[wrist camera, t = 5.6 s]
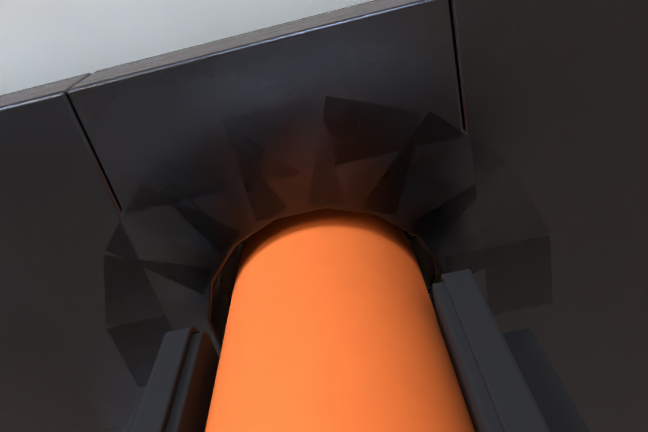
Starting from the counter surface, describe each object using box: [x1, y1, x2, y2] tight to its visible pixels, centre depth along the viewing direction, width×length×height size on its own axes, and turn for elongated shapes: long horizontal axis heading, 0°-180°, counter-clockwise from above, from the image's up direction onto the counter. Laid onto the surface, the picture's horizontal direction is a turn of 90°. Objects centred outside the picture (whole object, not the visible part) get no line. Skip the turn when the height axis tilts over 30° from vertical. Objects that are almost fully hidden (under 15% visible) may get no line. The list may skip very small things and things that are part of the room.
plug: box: [205, 208, 475, 432], centre depth 10 cm, size 4×4×8 cm
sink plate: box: [0, 0, 648, 432], centre depth 14 cm, size 20×18×2 cm
